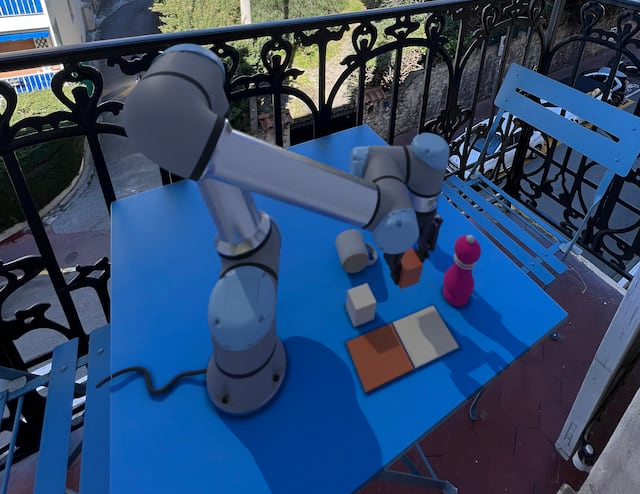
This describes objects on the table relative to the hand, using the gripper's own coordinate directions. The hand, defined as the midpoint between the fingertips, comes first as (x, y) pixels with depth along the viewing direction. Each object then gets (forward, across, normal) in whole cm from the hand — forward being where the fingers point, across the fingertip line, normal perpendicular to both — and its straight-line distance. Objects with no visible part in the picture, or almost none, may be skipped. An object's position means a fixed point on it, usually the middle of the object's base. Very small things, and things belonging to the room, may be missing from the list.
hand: (404, 276), depth 95 cm
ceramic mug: (+8, -6, +13) cm, 16 cm away
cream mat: (+7, 0, -10) cm, 12 cm away
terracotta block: (0, 0, 0) cm, 0 cm away
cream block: (+7, -11, 0) cm, 13 cm away
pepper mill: (+7, +13, -5) cm, 16 cm away
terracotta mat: (+7, -11, -10) cm, 17 cm away
